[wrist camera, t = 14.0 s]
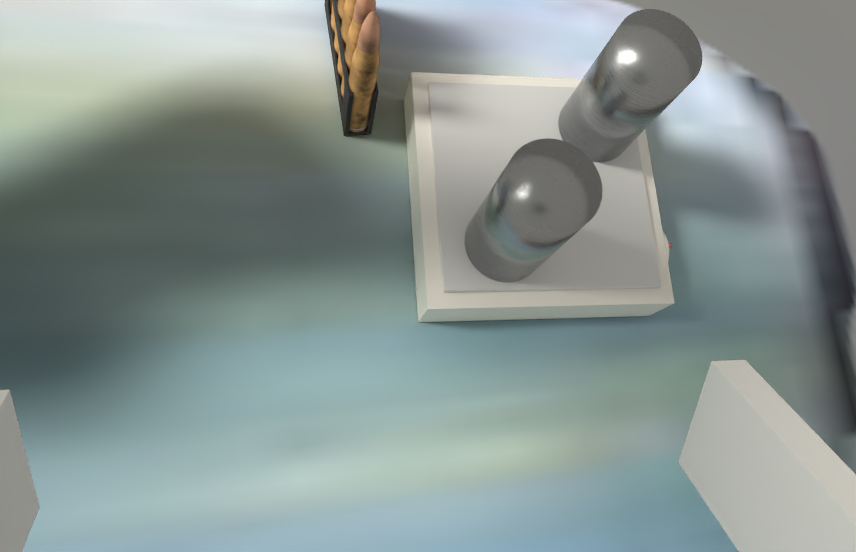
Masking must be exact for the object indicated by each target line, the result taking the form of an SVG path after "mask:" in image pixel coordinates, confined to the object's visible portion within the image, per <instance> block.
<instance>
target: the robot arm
mask: <svg viewBox="0 0 856 552" xmlns="http://www.w3.org/2000/svg"><path fill="white" fill-rule="evenodd" d="M678 463H679V464H680V466H681V467H682V469H683V470H684V472H685V473H686V475H687V476H688V478H689V479H690V481H691V482H692V483H693V485H694V486H695V488H696V489H697V491H698V492H699V494H700V495H701V497H702V498H703V500H704V501H705V503H706V504H707V506H708V507H709V509H710V510H711V512H712V513H713V515H714V516H715V517H716V519H717V520H718V522H719V523H720V525H721V526H722V528H723V529H724V531H725V532H726V534H727V535H728V537H729V538H730V540H731V541H732V543H733V544H734V546H735V547H736V549H737V550H738V551H739V552H856V474H855V473H854V472H853V471H852V470H851V469H850V468H849V467H848V466H847V465H846V464H845V463H844V462H843V461H842V460H841V459H840V458H839V457H838V456H837V455H836V454H835V453H834V452H833V450H832V449H831V448H830V447H829V446H828V445H827V444H826V443H825V442H824V441H823V440H822V439H821V438H820V437H819V436H818V435H817V434H816V433H815V432H814V431H813V430H812V429H811V428H810V427H809V426H808V425H807V424H806V422H805V421H804V420H803V419H802V418H801V417H800V416H799V415H798V414H797V413H796V412H795V411H794V410H793V409H792V408H791V407H790V406H789V405H788V404H787V403H786V402H785V401H784V400H783V399H782V398H781V397H780V395H779V394H778V393H777V392H776V391H775V390H774V389H773V388H772V387H771V386H770V385H769V384H768V383H767V382H766V381H765V380H764V379H763V378H762V377H761V376H760V375H759V374H758V373H757V372H756V371H755V370H754V368H753V367H752V366H751V365H750V364H749V363H748V362H747V361H746V360H725V361H711V364H710V367H709V370H708V373H707V376H706V379H705V382H704V385H703V388H702V391H701V395H700V398H699V401H698V404H697V407H696V410H695V413H694V416H693V419H692V422H691V425H690V428H689V431H688V435H687V438H686V441H685V444H684V447H683V450H682V453H681V456H680V459H679V462H678ZM38 510H39V503H38V499H37V495H36V491H35V487H34V483H33V479H32V475H31V471H30V467H29V463H28V460H27V456H26V452H25V448H24V444H23V440H22V436H21V432H20V428H19V424H18V420H17V416H16V412H15V408H14V404H13V400H12V396H11V393H10V390H0V552H22V550H23V547H24V545H25V542H26V540H27V537H28V535H29V532H30V530H31V527H32V525H33V522H34V520H35V517H36V515H37V512H38Z"/></svg>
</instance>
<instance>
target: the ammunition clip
mask: <svg viewBox="0 0 856 552" xmlns="http://www.w3.org/2000/svg"><path fill="white" fill-rule="evenodd" d="M375 10H376V1H375V0H325V11H326V17H327V24H328V31H329V38H330V45H331V51H332V58H333V65H334V72H335V78H336V85H337V92H338V99H339V106H340V112H341V119H342V126H343V133H344V135H345V136H353V135H368V134H371V129H372V124H373V118H374V113H375V107H376V101H377V96H378V88H377V82H376V79H377V73H378V68H379V62H380V61H379V42H380V23H379V19H378V16H377V14H376V12H375Z"/></svg>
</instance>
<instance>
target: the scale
mask: <svg viewBox="0 0 856 552" xmlns="http://www.w3.org/2000/svg"><path fill="white" fill-rule="evenodd" d="M581 80H582V79H570V78H545V77H520V76H495V75H471V74H446V73H421V72H411V76H410V79H409V83H408V87H407V90H406V94H405V97H404V110H405V126H406V141H407V157H408V173H409V188H410V204H411V219H412V235H413V251H414V266H415V282H416V297H417V313H418V322H443V321H479V320H516V319H553V318H590V317H627V316H650V315H652V314H654V313H656V312H658V311H660V310H662V309H664V308H666V307H668V306H670V305H672V304H674V303H675V302H674V296H673V290H672V284H671V278H670V272H669V266H668V260H669V248H670V247H672V244H671V243H668V239H667V237H666V235H665V233H664V232H663V230H662V224H661V219H660V213H659V207H658V201H657V195H656V189H655V183H654V177H653V171H652V165H651V159H650V153H649V147H648V141H647V135H646V129H645V130H644V131H643V132H642V133H641V134H640V135H639V136H638V137H637V138H636V139H635V140H634V141H633V142H632V143H631V144H630V145H629V147H628V148H627V149H626V150H625V151H624V152H623V153H622V154H621V155H620V156H618V157H617V158H615V159H613V160H610V161H607V162H593V163H594V165H595V166H596V168H597V170H598V172H599V175H600V178H601V182H602V200H601V204H600V207H599V209H598V211H597V213H596V214H595V215H594V217H593V218H592V219H591V220H590V221H589V222H588V223H587V224H586V225H585V226H584V227H582V228H581V229H580V230H579V231H578V232H577V233H576V234H575V235H574V236H572V237H571V238H570V239H569V240H568V241H567V242H566V243H565V244H564V245H563V246H561V247H560V248H559V249H558V250H557V251H556V252H555V253H554V254H553V255H552V256H550V257H549V258H548V259H547V260H546V261H545V262H544V263H543V264H542V265H541V266H539V267H538V268H537V269H536V270H535V271H534V272H533V273H532V274H531V275H529V276H528V277H526V278H524V279H522V280H520V281H516V282H508V283H507V282H499V281H495V280H492V279H490V278H488V277H486V276H484V275H483V274H481V273H480V272H479V271H478V270H477V269H476V268H475V267H474V266H473V264H472V263H471V261H470V260H469V258H468V255H467V253H466V249H465V232H466V229H467V226H468V224H469V222H470V221H471V219H472V218H473V216H474V215H475V213H476V211H477V210H478V208H479V207H480V205H481V204H482V202H483V201H484V199H485V198H486V196H487V195H488V193H489V192H490V190H491V189H492V187H493V185H494V184H495V182H496V181H497V179H498V178H499V176H500V175H501V173H502V172H503V170H504V169H505V167H506V166H507V164H508V162H509V161H510V159H511V158H512V156H513V155H514V154H515V153H516V151H517V150H518V149H520V148H521V147H522V146H523V145H525V144H527V143H529V142H531V141H534V140H538V139H545V138H551V139H558V140H562V141H563V139H562V137H561V135H560V132H559V127H558V119H559V114H560V112H561V109H562V108H563V106H564V105H565V103H566V102H567V100H568V99H569V98H570V96H571V95H572V93H573V92H574V90H575V89H576V88H577V86H578V85H579V83H580V82H581Z"/></svg>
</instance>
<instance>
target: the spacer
mask: <svg viewBox="0 0 856 552" xmlns="http://www.w3.org/2000/svg"><path fill="white" fill-rule="evenodd" d="M601 200H602V182H601V178H600V175H599V172H598V170H597V168H596V166H595V165H594V163H593V162H592V161H591V159H590V158H589V157H588V156H587V155H586V154H585V153H584V152H583V151H582V150H580V149H579V148H577V147H576V146H574V145H572V144H570V143H568V142H565V141H562V140H558V139H551V138H545V139H538V140H534V141H531V142H529V143H527V144H525V145H523V146H522V147H521V148H520V149H518V150H517V151H516V153H515V154H514V155H513V156H512V158H511V159H510V161H509V162H508V164H507V166H506V167H505V169H504V170H503V172H502V173H501V175H500V176H499V178H498V179H497V181H496V182H495V184H494V185H493V187H492V189H491V190H490V192H489V193H488V195H487V196H486V198H485V199H484V201H483V202H482V204H481V205H480V207H479V208H478V210H477V211H476V213H475V215H474V216H473V218H472V219H471V221H470V222H469V224H468V226H467V229H466V232H465V249H466V253H467V255H468V258H469V260H470V261H471V263H472V264H473V266H474V267H475V268H476V269H477V270H478V271H479V272H480V273H481V274H483V275H484V276H486V277H488V278H490V279H492V280H495V281H499V282H507V283H508V282H516V281H520V280H522V279H524V278H526V277H528V276H529V275H531V274H532V273H533V272H534V271H535V270H536V269H537V268H538V267H539V266H541V265H542V264H543V263H544V262H545V261H546V260H547V259H548V258H549V257H550V256H552V255H553V254H554V253H555V252H556V251H557V250H558V249H559V248H560V247H561V246H563V245H564V244H565V243H566V242H567V241H568V240H569V239H570V238H571V237H572V236H574V235H575V234H576V233H577V232H578V231H579V230H580V229H581V228H582V227H584V226H585V225H586V224H587V223H588V222H589V221H590V220H591V219H592V218H593V217H594V215H595V214H596V213H597V211H598V209H599V207H600V204H601Z"/></svg>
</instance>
